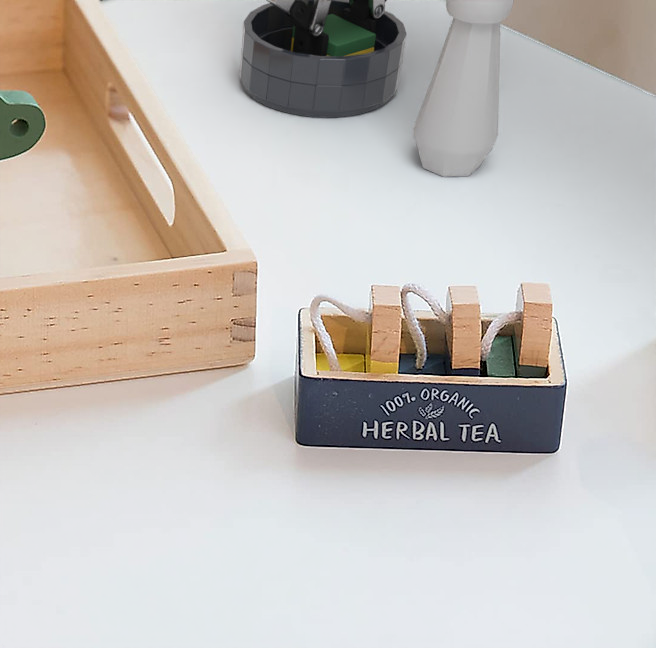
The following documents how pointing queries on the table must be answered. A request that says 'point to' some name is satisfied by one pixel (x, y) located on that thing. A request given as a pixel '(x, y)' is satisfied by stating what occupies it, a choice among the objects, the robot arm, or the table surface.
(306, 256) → the table surface
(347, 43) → the sponge
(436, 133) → the salt shaker
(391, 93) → the bowl
